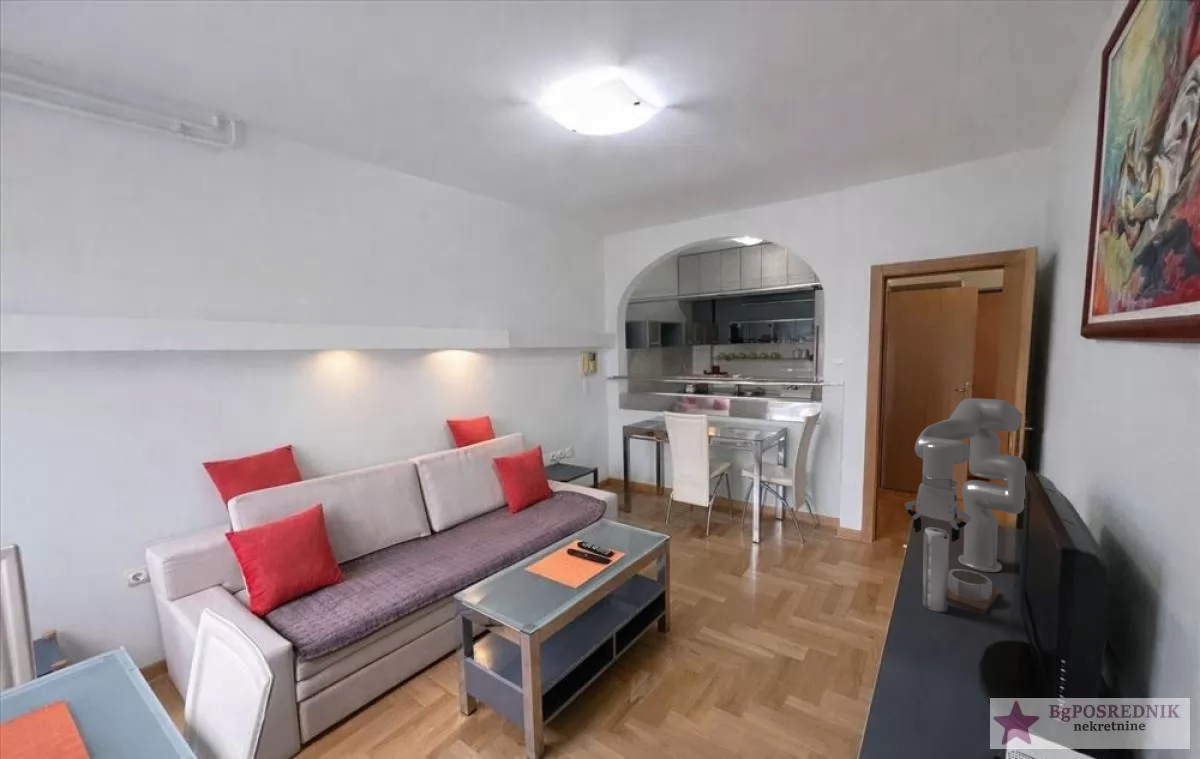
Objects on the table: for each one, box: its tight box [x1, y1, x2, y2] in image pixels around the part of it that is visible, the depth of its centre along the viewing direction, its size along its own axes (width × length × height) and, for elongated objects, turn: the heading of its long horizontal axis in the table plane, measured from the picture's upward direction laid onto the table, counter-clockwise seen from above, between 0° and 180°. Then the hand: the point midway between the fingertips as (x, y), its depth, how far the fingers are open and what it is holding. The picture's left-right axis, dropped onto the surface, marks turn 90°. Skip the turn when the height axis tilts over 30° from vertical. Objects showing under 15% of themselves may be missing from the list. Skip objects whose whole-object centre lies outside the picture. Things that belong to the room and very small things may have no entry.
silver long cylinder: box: [922, 526, 950, 613], centre depth 146 cm, size 6×6×25 cm
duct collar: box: [948, 568, 1001, 615], centre depth 152 cm, size 18×12×6 cm, turn 128°
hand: (935, 535), depth 145 cm, fingers open, 9 cm apart
